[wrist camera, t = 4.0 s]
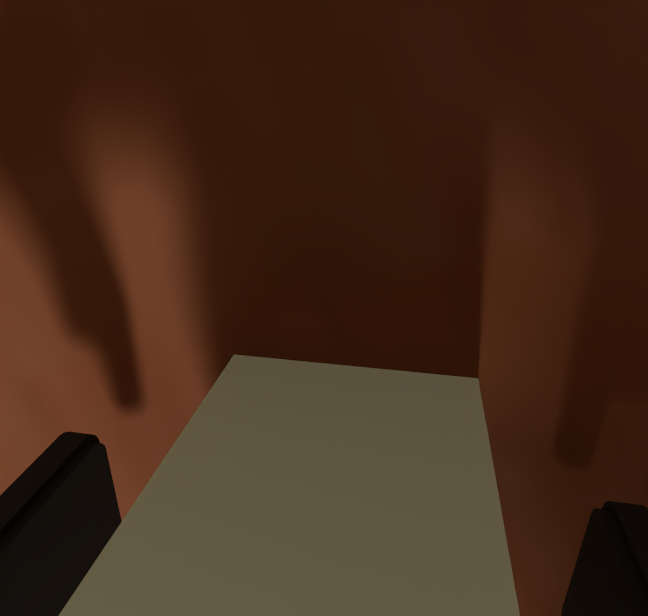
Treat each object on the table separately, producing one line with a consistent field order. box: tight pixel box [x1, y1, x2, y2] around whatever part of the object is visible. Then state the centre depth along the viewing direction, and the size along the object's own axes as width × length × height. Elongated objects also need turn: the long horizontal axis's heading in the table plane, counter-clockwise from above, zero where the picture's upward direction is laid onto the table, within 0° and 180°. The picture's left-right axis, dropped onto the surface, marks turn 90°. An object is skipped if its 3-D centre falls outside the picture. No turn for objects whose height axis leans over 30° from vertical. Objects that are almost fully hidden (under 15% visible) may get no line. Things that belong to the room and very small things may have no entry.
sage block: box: [59, 355, 520, 616], centre depth 9 cm, size 5×5×6 cm
